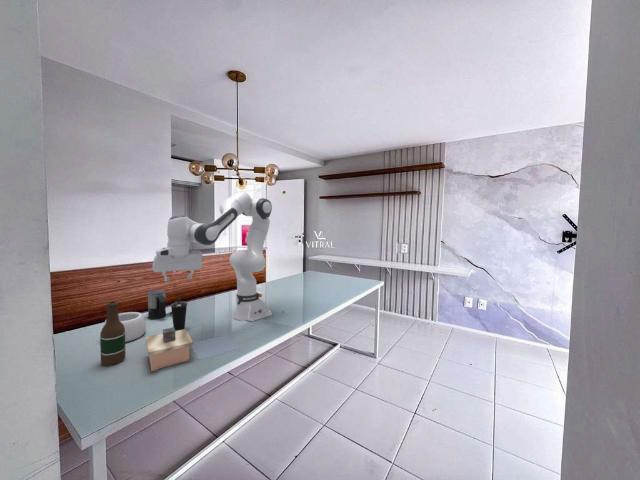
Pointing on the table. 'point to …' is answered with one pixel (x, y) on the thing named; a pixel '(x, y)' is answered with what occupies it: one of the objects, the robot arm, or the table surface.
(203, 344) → the slate mat
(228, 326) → the table surface
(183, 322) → the drinking cup
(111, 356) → the beer bottle
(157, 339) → the birch lid
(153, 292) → the milk frother
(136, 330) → the mug
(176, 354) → the open square planter box
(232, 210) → the robot arm
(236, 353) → the table surface
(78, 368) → the table surface
